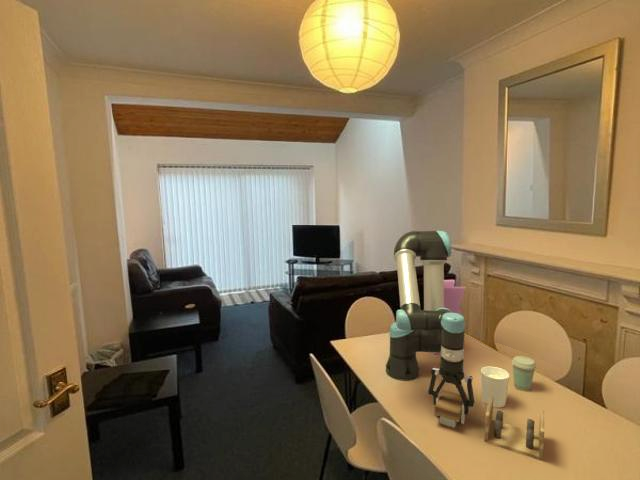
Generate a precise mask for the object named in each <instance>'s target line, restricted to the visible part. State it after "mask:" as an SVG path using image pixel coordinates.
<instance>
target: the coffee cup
mask: <svg viewBox="0 0 640 480" xmlns="http://www.w3.org/2000/svg"><path fill="white" fill-rule="evenodd" d="M511 364H512V372H513V382H514V383H513V384H514V387H515V389H517V390H519V391H522V392H529V391H530V390H531V389H532V384H533V378H534V375H535V369H536V367H537V364H536V362H535V360H534V359H532V358H530V357H527V356H524V355H516V356H514V357H513V359H512V360H511Z"/></svg>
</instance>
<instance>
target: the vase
mask: <svg viewBox="0 0 640 480" xmlns="http://www.w3.org/2000/svg"><path fill="white" fill-rule="evenodd" d="M455 282H456V280H455V279H444V308H447V309H449V310H450V311H451V312H453V313H458V314H460V315H462V311H461V310H462V309H461V305H462V299H463V296H464V293H465V291H466V286H455ZM431 353H432V354H433V355H434V356H435V355H437V356H441V353H437V352H431Z"/></svg>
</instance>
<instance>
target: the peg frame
mask: <svg viewBox="0 0 640 480" xmlns="http://www.w3.org/2000/svg"><path fill="white" fill-rule="evenodd" d="M486 407H487V409H486V412H485V419H484V420H485V421H484V424H485V425H484V443H487V444H490V445H493V446H497V447H499V448H503V449H506V450H508V451H512V452H515V453H517V454H521V455H524V456H526V457H529V458H533V459H536V460H539V461H542V462H543V459H544V457H543V456H544V445H545V444H544V443H545V410H543V409H540V412H539V413H540V414H539V426H538V427H539V428H538V429H539V430H538V432H535V420H533V419H532V418H528V419H527V421H526V422H527V423H526V428H521V427H518V426H515V425H512V424H509V423H505V422H504V412H503V411H502V410H496V415H495V416H496V419H493V413H494V412H493V411H494V407H493V397H491V396H490V399H489V403H488V405H487V406H486Z"/></svg>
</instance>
